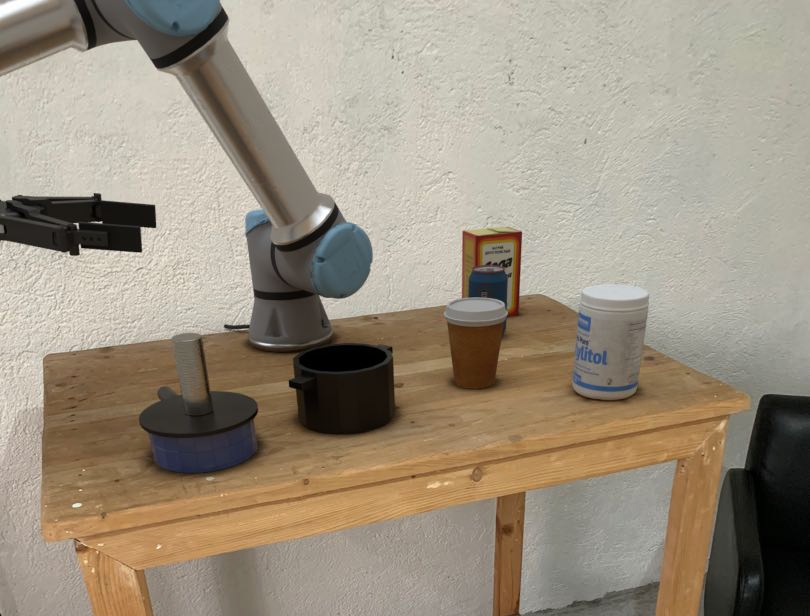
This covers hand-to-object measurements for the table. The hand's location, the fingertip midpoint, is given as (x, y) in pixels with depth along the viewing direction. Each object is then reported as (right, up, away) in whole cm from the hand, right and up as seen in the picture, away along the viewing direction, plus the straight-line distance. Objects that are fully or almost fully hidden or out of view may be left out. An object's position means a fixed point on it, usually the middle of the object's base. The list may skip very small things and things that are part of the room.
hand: (149, 227), depth 96 cm
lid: (+5, -22, +6) cm, 23 cm away
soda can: (+46, 0, +50) cm, 68 cm away
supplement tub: (+61, -15, +23) cm, 67 cm away
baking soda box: (+48, +8, +64) cm, 80 cm away
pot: (+22, -20, +18) cm, 35 cm away
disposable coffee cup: (+42, -13, +29) cm, 52 cm away
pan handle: (-1, -19, +15) cm, 25 cm away
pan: (+5, -26, +8) cm, 28 cm away
